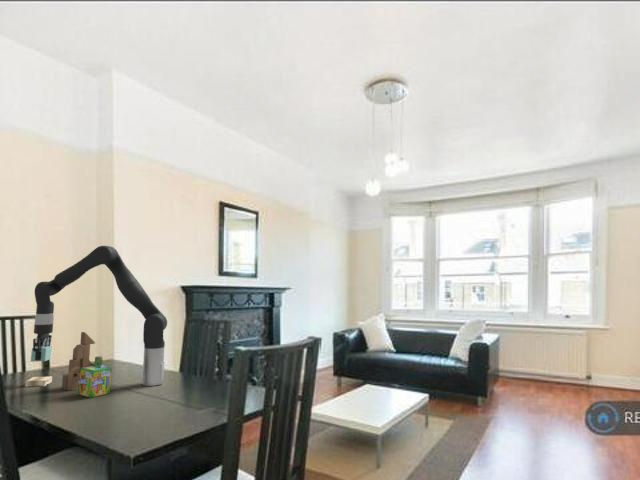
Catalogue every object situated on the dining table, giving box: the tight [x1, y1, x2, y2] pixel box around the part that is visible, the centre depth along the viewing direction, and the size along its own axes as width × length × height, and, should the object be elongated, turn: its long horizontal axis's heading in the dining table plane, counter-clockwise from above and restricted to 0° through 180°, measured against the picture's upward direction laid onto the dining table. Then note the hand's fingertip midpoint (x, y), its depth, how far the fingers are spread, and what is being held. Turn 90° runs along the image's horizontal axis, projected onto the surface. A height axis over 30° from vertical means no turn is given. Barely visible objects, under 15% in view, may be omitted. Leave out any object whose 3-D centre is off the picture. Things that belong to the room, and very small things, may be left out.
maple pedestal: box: [25, 375, 53, 388], centre depth 194 cm, size 8×8×3 cm
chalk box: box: [78, 359, 113, 399], centre depth 179 cm, size 9×9×15 cm
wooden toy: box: [61, 331, 103, 391], centre depth 192 cm, size 15×7×25 cm, turn 154°
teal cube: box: [30, 345, 52, 363], centre depth 195 cm, size 6×6×6 cm
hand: (41, 358), depth 195 cm, fingers closed on teal cube, 6 cm apart
